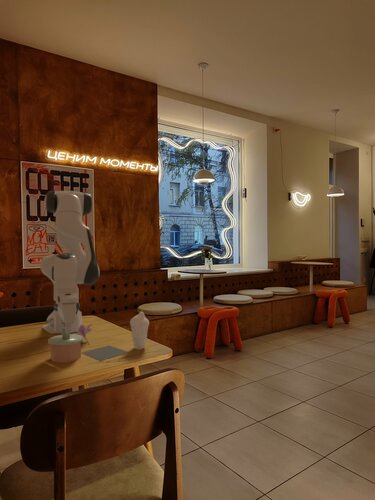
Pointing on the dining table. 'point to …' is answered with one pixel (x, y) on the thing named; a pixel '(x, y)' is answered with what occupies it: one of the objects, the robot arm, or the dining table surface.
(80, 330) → the lily
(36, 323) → the dining table surface
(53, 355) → the bowl
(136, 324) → the soft serve ice cream cone
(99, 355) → the mat
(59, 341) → the lid
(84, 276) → the robot arm
